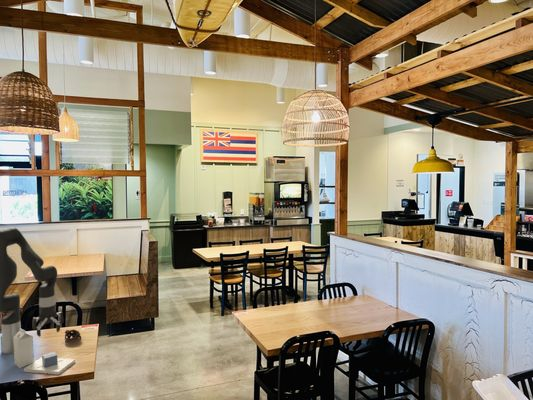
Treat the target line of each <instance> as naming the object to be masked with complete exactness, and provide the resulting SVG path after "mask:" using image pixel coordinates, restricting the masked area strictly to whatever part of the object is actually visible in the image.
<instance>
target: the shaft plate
mask: <svg viewBox="0 0 533 400" xmlns="http://www.w3.org/2000/svg"><path fill="white" fill-rule="evenodd" d="M57 361H58V364H56V365H53V366H50V367H46V368H45V367H44V366H43V364H42V356H41V357H40V358H38V359H37V360H34V363H32V364H29V365H26V366H25V368H24V367H23V372H24V373H26V372H27V373H37V374H47V373H48V375H60V374H61V373H63V372H64V371H65V370H67V369H68V368H69V367H71V366H72V365H73V364H75V363H76V359H74V358H61V357H57Z"/></svg>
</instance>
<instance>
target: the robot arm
mask: <svg viewBox="0 0 533 400" xmlns="http://www.w3.org/2000/svg"><path fill="white" fill-rule="evenodd" d="M16 244H17V245H18V246H19V247H20V256H21V261H23V263H24V264H25V265H26V266H27V267H28V268H29V269H30V272H31V274H32V277H34V279H35V280H36V281H37V282H41V283H42V282H44V283H43V284H42V285H40V286H39V288H38V296H39V297H38V307H39V308H38V309H39V312H38V313H39V316H37V317H35V316H33V317H32V327H31V328H32V330H34V331H35V330H36V335H37V337H41V336H42V334H41V333H42V332H41V328H42V327H43V326H44V325H47V324H51V323H53V322H54V323H55V324H56V325H55V331H56V333H59V332H60V331H61V325H62V324H64V322H65V321H64V313H63V312H62V311H59V312H57V310H56V309H57V308H56V307H57V302H56V297H55V296H56V294H55V286H56V282H57V278H58V269H57V268H56V267H55V266H54V265H48V266H44V264H45V263H44V262H45V261H44V260H43V258H42V257H40V256H39V255H38V253H37V252H35V250H34V249H33V248H32V247H31V245H30V244H29V242H28V240H27V239H26V238H25V236H24V235H23V234H22V232H21V231H20V230H19V229H18V228H16V227H8V228H5V229H1V230H0V313H5V312H10V313H8V314H6V315H5V316H3V317H2V318H1V319H0V323H1V324H0V325H1V335H0V351H1V353H3V354H5V355H12V354H14V339H13V337H14V336H15V335H16V334H17V333H18V332H19V331H20V328H21V327H22V325H21V298H20V295H19V294H18V293H15V292H14V293H9V294H7V290H8V289H9V288H10V286H12V284H13V283H14V281H15V280H16V278H17V277H18V276H17V275H18V266H17V263H16V262H15V260H14V259H13V258H12V257H11V256H9V254H8V251H7V250H8V248H7V247H8V246H12V245H16ZM57 316H58V317H59V320H57V319H56V318H57ZM38 321H40V322H39V323H38ZM37 323H38V325H37Z"/></svg>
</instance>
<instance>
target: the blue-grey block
mask: <svg viewBox="0 0 533 400" xmlns="http://www.w3.org/2000/svg"><path fill="white" fill-rule="evenodd" d="M41 357H42V364H43V366H44V367H45V368H46V367H50V366H53V365H56V364H58V361H57V358H58V354H57V352H56V351H55V350H53V351H51V352H46V353H43V354H41Z"/></svg>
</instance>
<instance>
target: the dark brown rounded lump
mask: <svg viewBox="0 0 533 400" xmlns="http://www.w3.org/2000/svg"><path fill="white" fill-rule="evenodd" d="M64 333H65V334H64V343H65V345H68V344H70V343H73V342H76V340H79V339H80V340H81V339H82V336H81V333H80V331H79V330H77V329H70V330H69V329H66V330H65V332H64Z"/></svg>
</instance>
